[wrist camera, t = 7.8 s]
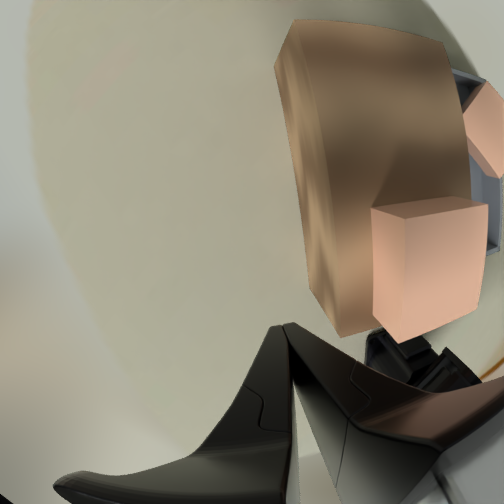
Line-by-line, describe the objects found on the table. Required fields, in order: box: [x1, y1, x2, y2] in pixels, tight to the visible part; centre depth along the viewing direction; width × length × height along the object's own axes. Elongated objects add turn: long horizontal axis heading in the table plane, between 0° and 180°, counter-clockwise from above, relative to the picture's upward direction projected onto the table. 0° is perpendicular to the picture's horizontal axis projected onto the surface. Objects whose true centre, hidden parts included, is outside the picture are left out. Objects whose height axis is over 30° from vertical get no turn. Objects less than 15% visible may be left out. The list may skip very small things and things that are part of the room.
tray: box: [451, 68, 502, 256], centre depth 17 cm, size 17×10×3 cm, turn 10°
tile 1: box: [371, 196, 488, 343], centre depth 12 cm, size 6×6×3 cm
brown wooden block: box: [274, 20, 472, 338], centre depth 15 cm, size 17×10×7 cm, turn 10°
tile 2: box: [461, 81, 504, 179], centre depth 14 cm, size 6×6×3 cm
